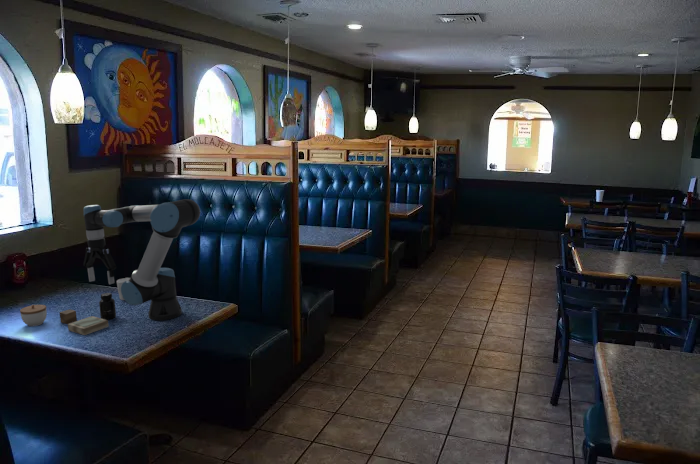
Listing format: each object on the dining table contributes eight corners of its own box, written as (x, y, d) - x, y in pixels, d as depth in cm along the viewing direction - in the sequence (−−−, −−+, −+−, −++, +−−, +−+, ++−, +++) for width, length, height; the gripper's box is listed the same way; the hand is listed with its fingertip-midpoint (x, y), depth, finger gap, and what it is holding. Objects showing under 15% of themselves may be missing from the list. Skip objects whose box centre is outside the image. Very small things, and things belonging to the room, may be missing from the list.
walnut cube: (77, 320, 264) (75, 310, 263) (67, 324, 260) (65, 314, 259) (70, 319, 267) (69, 309, 266) (60, 322, 263) (59, 312, 262)
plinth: (108, 326, 255) (108, 319, 255) (84, 335, 245) (83, 328, 245) (92, 322, 262) (92, 315, 261) (68, 330, 252) (67, 323, 251)
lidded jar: (20, 323, 262) (17, 304, 260) (46, 318, 268) (43, 299, 266) (24, 330, 254) (21, 310, 252) (50, 324, 260) (47, 305, 258)
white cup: (128, 300, 292) (126, 282, 290) (115, 300, 293) (113, 282, 291) (137, 296, 299) (135, 278, 297) (124, 295, 301) (122, 277, 299)
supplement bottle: (106, 321, 262) (103, 297, 259) (97, 319, 265) (94, 295, 263) (119, 317, 267) (116, 293, 265) (110, 314, 271) (107, 291, 269)
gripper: (121, 238, 258) (126, 282, 262) (85, 235, 270) (91, 277, 274) (107, 241, 252) (113, 286, 256) (71, 238, 263) (77, 281, 267)
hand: (101, 282), depth 265 cm, fingers open, 13 cm apart
